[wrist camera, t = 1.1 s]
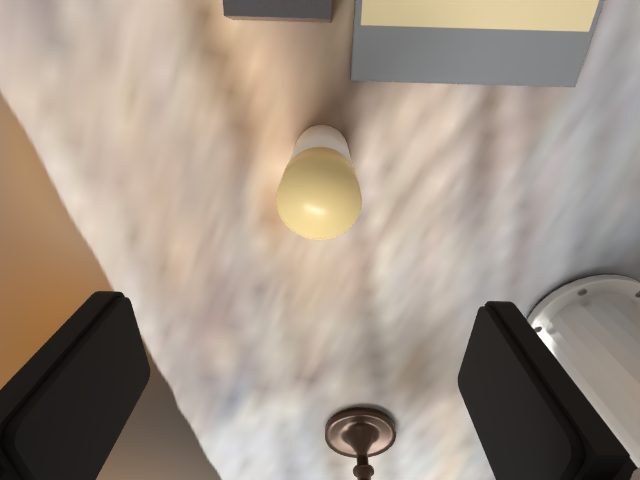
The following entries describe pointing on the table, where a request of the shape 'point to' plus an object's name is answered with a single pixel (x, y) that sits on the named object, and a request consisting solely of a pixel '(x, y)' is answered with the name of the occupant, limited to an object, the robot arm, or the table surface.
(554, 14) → the board
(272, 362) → the table surface
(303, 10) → the button housing
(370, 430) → the candlestick
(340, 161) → the marker
